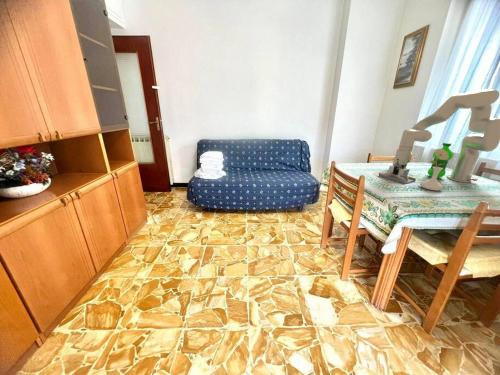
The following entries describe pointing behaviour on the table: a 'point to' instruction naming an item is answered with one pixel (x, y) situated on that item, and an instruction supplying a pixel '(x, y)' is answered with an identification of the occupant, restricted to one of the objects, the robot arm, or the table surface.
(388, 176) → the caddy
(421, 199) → the table surface
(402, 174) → the block
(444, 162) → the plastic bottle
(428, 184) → the flower in vase
